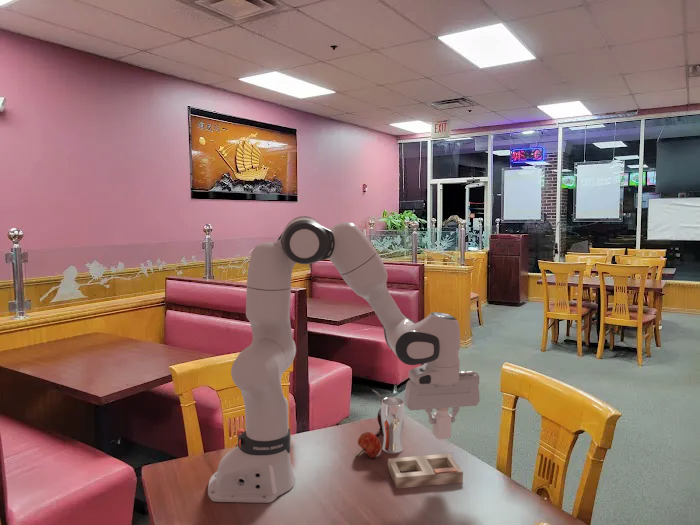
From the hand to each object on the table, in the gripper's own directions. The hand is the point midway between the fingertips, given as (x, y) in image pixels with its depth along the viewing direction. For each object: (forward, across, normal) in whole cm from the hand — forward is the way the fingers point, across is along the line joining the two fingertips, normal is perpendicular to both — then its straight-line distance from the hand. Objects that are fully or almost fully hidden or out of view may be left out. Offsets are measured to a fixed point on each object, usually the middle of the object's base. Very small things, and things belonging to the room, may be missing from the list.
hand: (441, 422), depth 139 cm
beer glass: (+15, +10, -16) cm, 24 cm away
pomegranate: (+15, +18, -13) cm, 27 cm away
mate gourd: (+15, +9, -27) cm, 32 cm away
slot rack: (+15, +5, 0) cm, 15 cm away
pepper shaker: (+4, 0, 0) cm, 4 cm away
